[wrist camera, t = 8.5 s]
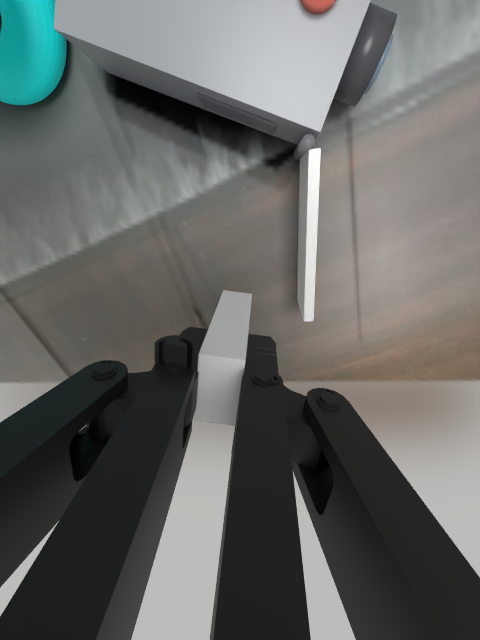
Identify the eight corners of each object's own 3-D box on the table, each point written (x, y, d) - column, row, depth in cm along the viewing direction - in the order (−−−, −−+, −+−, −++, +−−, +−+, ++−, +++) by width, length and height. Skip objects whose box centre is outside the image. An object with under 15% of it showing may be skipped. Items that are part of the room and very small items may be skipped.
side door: (307, 298, 31) (317, 322, 25) (291, 299, 31) (297, 323, 25) (312, 147, 25) (326, 132, 20) (293, 149, 26) (301, 134, 20)
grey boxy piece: (108, 75, 25) (45, 26, 18) (126, -75, 21) (56, -213, 14) (330, 160, 26) (355, 146, 19) (382, 31, 22) (438, -46, 15)
